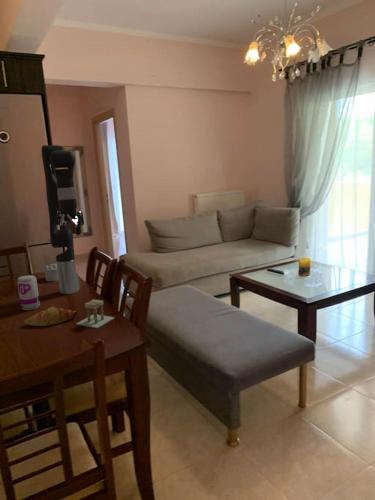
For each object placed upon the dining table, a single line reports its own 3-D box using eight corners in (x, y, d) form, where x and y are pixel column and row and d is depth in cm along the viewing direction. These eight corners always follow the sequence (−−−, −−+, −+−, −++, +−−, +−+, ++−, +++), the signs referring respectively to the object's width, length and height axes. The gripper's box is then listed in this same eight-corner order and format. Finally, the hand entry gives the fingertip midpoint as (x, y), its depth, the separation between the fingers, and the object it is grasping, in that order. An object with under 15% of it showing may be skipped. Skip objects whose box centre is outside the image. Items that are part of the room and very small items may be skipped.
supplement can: (33, 311, 170) (29, 279, 167) (17, 310, 172) (12, 279, 169) (43, 304, 178) (39, 274, 175) (28, 304, 180) (23, 274, 177)
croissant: (25, 336, 152) (22, 323, 147) (25, 318, 159) (22, 305, 154) (79, 326, 158) (77, 313, 153) (76, 309, 166) (75, 296, 161)
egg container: (63, 274, 232) (61, 261, 230) (64, 280, 220) (62, 266, 218) (45, 277, 228) (43, 263, 226) (45, 282, 216) (44, 268, 214)
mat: (94, 314, 162) (94, 314, 162) (114, 318, 157) (114, 317, 157) (76, 324, 153) (76, 323, 153) (97, 328, 148) (97, 327, 148)
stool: (95, 317, 158) (93, 299, 156) (104, 319, 156) (103, 300, 154) (86, 321, 154) (84, 303, 152) (96, 323, 151) (94, 305, 150)
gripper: (85, 197, 163) (89, 233, 166) (61, 197, 169) (65, 232, 172) (73, 198, 156) (77, 236, 159) (48, 199, 163) (53, 235, 166)
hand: (71, 234), depth 166 cm, fingers open, 8 cm apart
